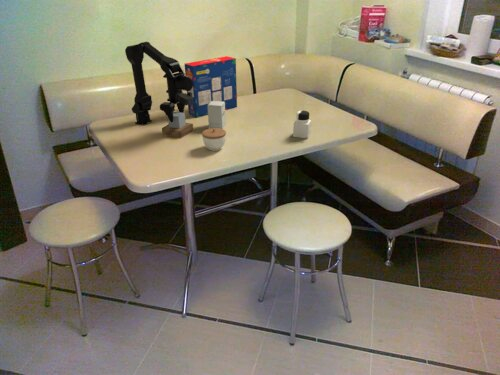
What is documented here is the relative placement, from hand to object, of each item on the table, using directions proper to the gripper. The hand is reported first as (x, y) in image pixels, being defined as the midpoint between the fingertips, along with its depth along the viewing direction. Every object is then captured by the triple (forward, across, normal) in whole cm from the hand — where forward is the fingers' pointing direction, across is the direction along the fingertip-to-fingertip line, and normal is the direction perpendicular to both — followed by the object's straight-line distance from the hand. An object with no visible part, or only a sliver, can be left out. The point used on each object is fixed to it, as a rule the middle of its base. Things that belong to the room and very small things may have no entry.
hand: (176, 119), depth 203 cm
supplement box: (+7, +14, -15) cm, 22 cm away
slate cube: (+4, 0, 0) cm, 4 cm away
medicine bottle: (+7, +18, -59) cm, 62 cm away
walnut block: (+8, 0, 0) cm, 8 cm away
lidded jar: (+7, -11, -26) cm, 29 cm away
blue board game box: (+7, +37, -1) cm, 38 cm away
